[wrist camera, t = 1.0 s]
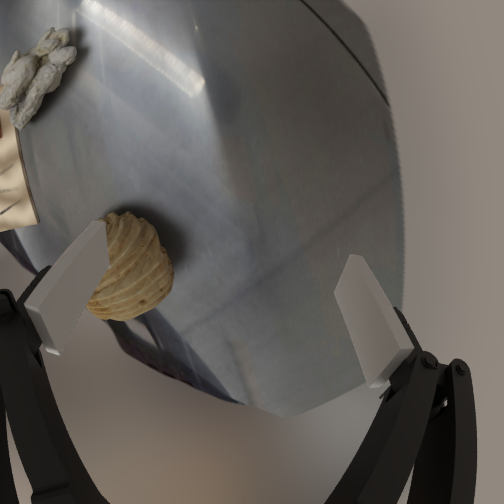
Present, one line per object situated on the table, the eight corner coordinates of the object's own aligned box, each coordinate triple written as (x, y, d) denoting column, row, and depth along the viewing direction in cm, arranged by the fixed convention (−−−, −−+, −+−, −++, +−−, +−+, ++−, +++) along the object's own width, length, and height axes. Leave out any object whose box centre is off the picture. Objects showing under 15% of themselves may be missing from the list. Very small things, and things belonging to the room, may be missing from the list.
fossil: (77, 216, 39) (27, 265, 26) (167, 193, 38) (132, 244, 25) (108, 287, 47) (78, 346, 34) (193, 276, 46) (178, 345, 33)
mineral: (101, 52, 24) (48, 26, 15) (36, 149, 29) (-16, 143, 20) (80, 29, 25) (39, 9, 16) (24, 110, 30) (-18, 102, 20)
